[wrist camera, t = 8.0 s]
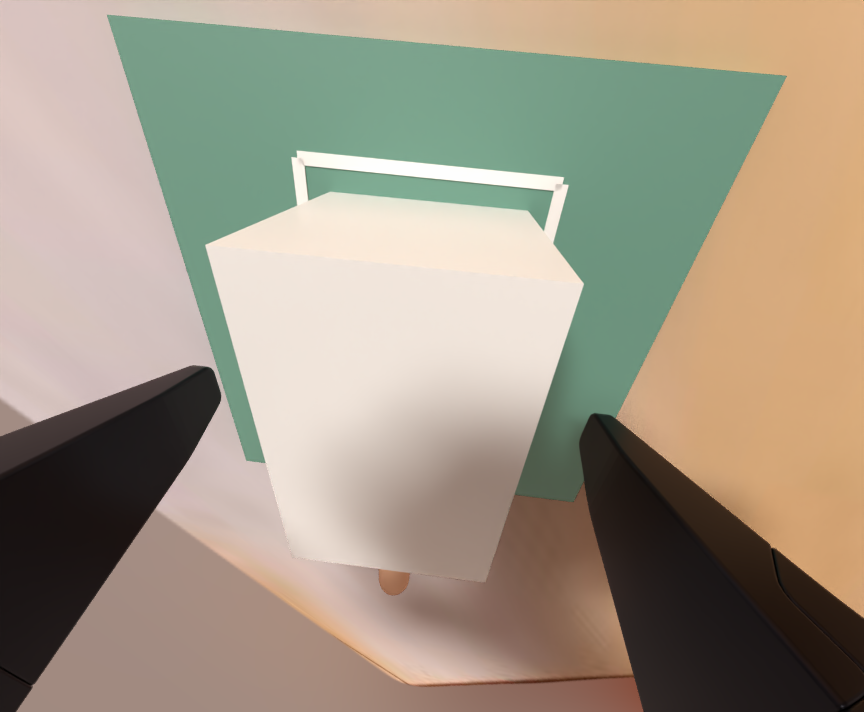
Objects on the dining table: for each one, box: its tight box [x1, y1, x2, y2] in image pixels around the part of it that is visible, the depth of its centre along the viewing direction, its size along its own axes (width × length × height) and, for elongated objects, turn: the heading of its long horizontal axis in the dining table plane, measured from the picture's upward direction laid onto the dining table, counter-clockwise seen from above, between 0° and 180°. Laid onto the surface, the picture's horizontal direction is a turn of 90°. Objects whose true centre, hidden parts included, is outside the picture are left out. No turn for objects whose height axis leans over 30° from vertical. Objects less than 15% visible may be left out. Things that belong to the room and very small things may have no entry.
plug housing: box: [205, 192, 584, 595], centre depth 10 cm, size 5×12×5 cm, turn 176°
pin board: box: [107, 15, 787, 502], centre depth 10 cm, size 14×14×3 cm
